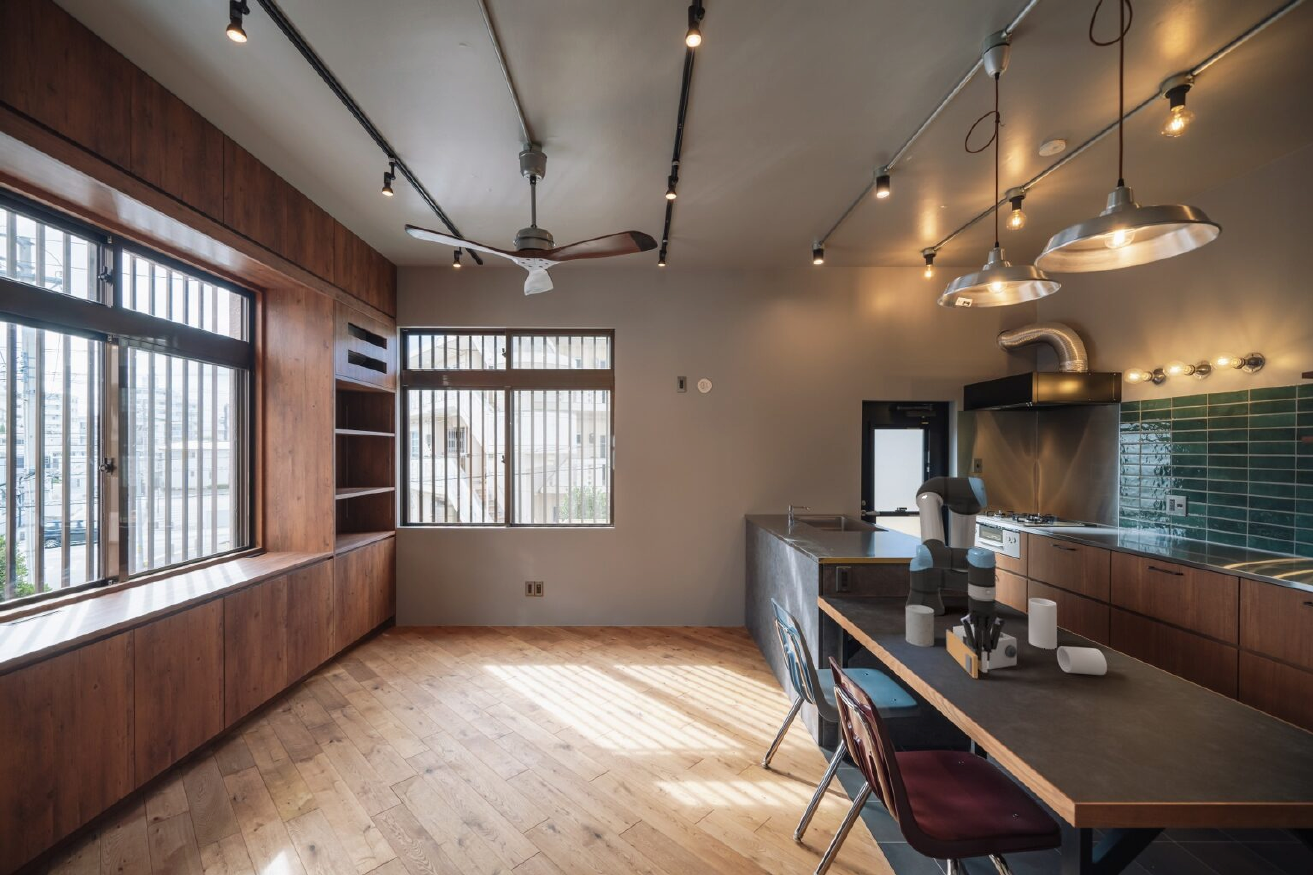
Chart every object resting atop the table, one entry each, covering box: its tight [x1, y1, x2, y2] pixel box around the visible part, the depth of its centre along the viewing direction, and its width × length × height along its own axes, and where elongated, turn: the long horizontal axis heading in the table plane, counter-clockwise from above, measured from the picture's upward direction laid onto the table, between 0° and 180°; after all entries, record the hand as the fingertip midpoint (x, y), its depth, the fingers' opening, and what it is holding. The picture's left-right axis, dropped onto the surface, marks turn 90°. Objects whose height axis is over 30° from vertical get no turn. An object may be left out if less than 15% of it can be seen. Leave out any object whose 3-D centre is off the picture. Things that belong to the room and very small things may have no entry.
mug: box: [1056, 645, 1108, 676], centre depth 164 cm, size 12×10×8 cm
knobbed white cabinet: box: [952, 623, 1017, 670], centre depth 172 cm, size 15×12×10 cm
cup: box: [1028, 597, 1058, 650], centre depth 183 cm, size 8×8×16 cm
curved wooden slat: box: [945, 628, 979, 679], centre depth 168 cm, size 22×2×7 cm, turn 170°
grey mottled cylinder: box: [905, 605, 935, 648], centre depth 187 cm, size 10×10×12 cm
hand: (982, 670), depth 160 cm, fingers closed
